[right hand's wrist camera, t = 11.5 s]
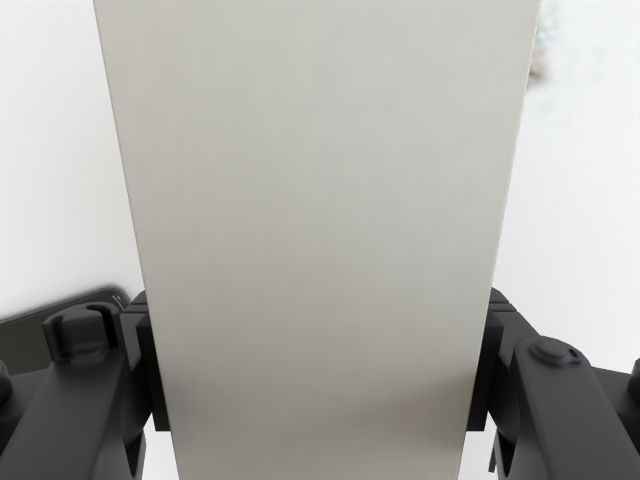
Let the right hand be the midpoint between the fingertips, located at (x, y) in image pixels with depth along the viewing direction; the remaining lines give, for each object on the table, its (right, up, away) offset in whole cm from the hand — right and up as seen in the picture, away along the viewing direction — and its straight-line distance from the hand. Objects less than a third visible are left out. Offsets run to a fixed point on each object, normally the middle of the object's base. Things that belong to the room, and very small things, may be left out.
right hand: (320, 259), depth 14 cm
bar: (0, +10, -3) cm, 10 cm away
